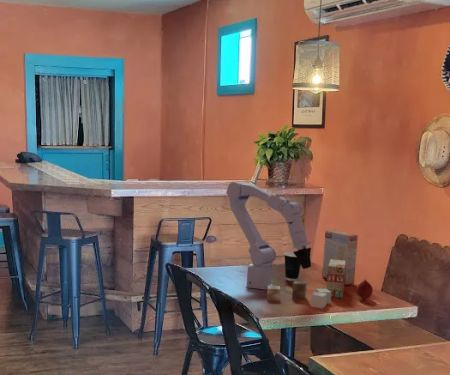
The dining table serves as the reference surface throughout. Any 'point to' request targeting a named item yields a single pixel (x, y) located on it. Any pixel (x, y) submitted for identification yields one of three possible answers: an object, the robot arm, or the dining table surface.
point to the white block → (318, 299)
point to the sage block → (326, 293)
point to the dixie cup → (291, 266)
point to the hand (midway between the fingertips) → (307, 267)
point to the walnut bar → (299, 290)
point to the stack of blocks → (336, 278)
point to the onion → (364, 290)
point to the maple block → (273, 293)
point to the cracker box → (340, 252)
